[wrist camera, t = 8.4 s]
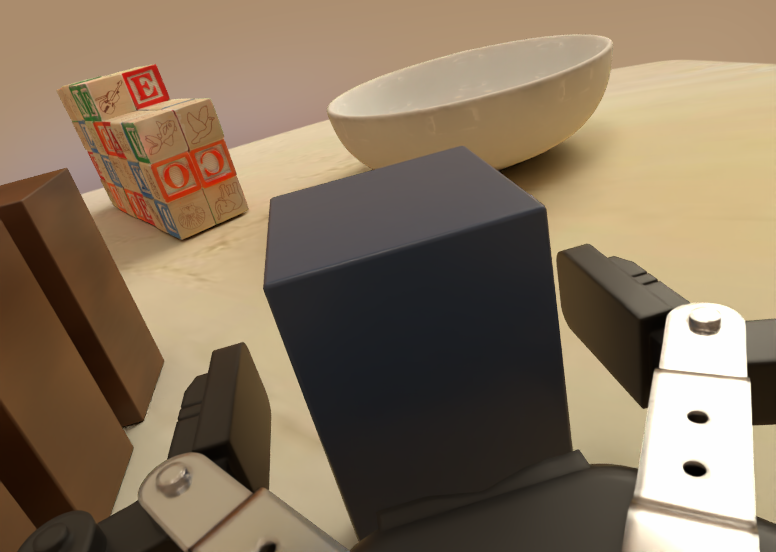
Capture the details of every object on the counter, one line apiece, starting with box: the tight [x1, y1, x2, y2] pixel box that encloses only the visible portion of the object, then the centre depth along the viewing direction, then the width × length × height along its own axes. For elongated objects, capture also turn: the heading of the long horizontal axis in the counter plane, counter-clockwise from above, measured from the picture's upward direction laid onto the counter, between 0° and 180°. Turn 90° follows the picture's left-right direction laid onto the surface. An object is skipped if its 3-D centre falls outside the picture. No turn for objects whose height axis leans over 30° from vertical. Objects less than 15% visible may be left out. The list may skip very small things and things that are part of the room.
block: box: [263, 146, 573, 542], centre depth 13 cm, size 5×5×10 cm
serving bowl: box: [327, 34, 613, 171], centre depth 43 cm, size 21×21×7 cm
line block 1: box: [0, 168, 164, 427], centre depth 23 cm, size 5×5×10 cm
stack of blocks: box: [56, 64, 249, 240], centre depth 50 cm, size 21×6×12 cm, turn 40°
